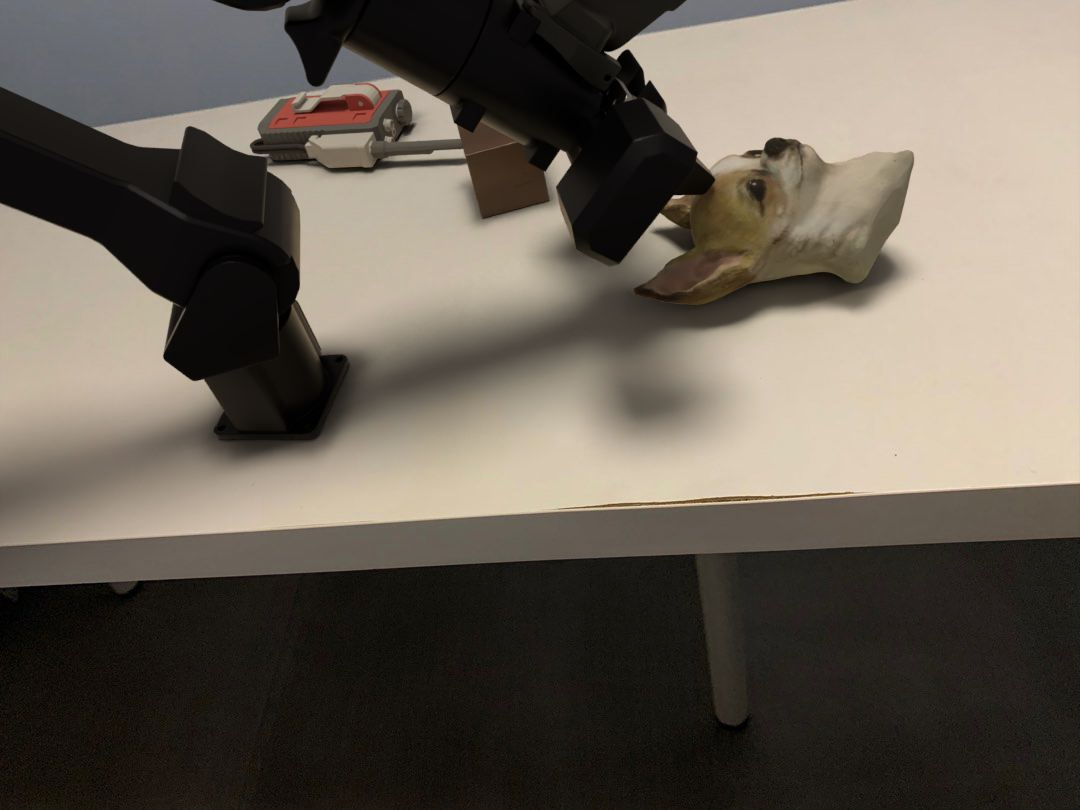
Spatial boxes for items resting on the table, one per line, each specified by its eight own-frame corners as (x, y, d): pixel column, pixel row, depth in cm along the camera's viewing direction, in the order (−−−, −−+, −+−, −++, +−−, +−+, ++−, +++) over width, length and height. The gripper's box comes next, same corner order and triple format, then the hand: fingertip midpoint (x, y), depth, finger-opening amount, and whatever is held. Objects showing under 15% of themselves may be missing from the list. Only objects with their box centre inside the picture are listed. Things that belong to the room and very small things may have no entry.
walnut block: (549, 200, 60) (536, 136, 57) (482, 218, 60) (464, 155, 57) (536, 167, 64) (524, 105, 60) (473, 184, 64) (456, 123, 60)
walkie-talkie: (244, 177, 72) (465, 168, 66) (221, 129, 68) (450, 115, 63) (288, 124, 77) (494, 111, 72) (268, 78, 74) (482, 60, 68)
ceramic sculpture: (929, 180, 39) (612, 212, 44) (917, 323, 45) (638, 338, 50) (906, 75, 46) (635, 111, 51) (898, 210, 52) (656, 232, 57)
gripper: (618, -79, 28) (906, 139, 35) (521, -184, 41) (746, -9, 49) (448, 194, 33) (730, 330, 41) (411, 23, 46) (629, 151, 54)
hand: (708, 184), depth 46 cm, fingers closed
